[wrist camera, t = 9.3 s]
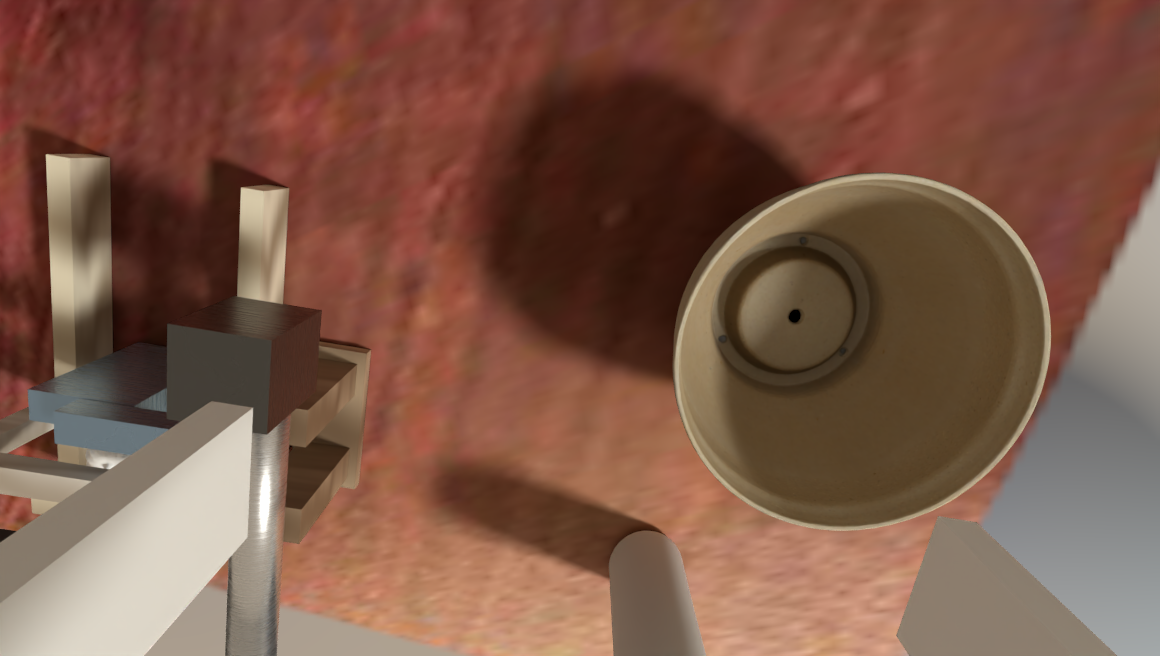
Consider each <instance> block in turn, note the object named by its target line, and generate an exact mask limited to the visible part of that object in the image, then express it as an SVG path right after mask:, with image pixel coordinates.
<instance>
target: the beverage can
mask: <svg viewBox="0 0 1160 656" xmlns="http://www.w3.org/2000/svg"><path fill="white" fill-rule="evenodd" d="M609 577H610V596H611V615H612V633H613V651H614V656H706V653H705V649H704V646H703V642H702V638H701V634H700V630H699V626H698V623H697V619H696V615H695V611H694V607H693V603H692V599H691V595H690V591H689V586H688V582H687V578H686V574H685V570H684V565H683V561H682V557H681V554H680V552H679V550H678V548H677V546H676V545H675V544H674V543H673V542H672V540H671V539H669V538H668V537H667V536H665V535H664V534H661V533H658V532H655V531H639V532H635V533H632V534H630V535H628V536H626V537H625V538H624V539H622V540H621V541H620V542H619V543H618V544H617V546H616V547H615V548H614V550H613V552H612V554H611V556H610V561H609Z"/></svg>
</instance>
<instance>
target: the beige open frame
mask: <svg viewBox="0 0 1160 656" xmlns="http://www.w3.org/2000/svg"><path fill="white" fill-rule="evenodd" d="M46 171H47V196H48V221H49V246H50V271H51V296H52V321H53V346H54V371H55V377H58V376H60V375H62V374H65V373H67V372H70V371H72V370H74V369H77V368H79V367H81V366H84V365H86V364H88V363H91V362H93V361H95V360H98V359H100V358H102V357H105V356H107V355H109V354H112V353H113V319H112V255H111V191H110V158H109V157H104V156H98V155H92V154H46ZM288 199H289V188H285V187H279V186H273V185H259V186H249V187H241V200H240V229H239V258H238V286H237V297H243V298H249V299H255V300H261V301H267V302H273V303H280V304H283V292H284V273H285V255H286V236H287V217H288ZM52 429H54V424H51V423H44V422H38V421H32V420H29V407H27V408H25V409H23V410H21V411H18V412H16V413H14V414H12V415H10V416H8V417H5V418H3V419H1V420H0V494H6V495H12V496H19V497H25V498H31V502H32V513H35V514H43V513H45V512H46V511H48V510H49V509H51V508H52V507H54V506H55V505H57V504H58V503H60V502H61V501H63V500H64V499H66V498H67V497H69V496H70V495H72V494H73V493H75V492H76V491H78V490H79V489H81V488H82V487H84V486H85V485H87V484H88V483H90V482H91V481H93V480H94V479H96V478H97V477H99V476H100V475H102V474H103V473H105V472H106V471H108V470H109V469H104V468H98V467H91V466H86V463H87V460H86V456H85V454H86V450H87V448H81V447H74V446H68V445H61V444H57V445H58V461H52V460H46V459H39V458H33V457H26V456H20V455H13V454H7V453H8V452H10V451H12V450H14V449H16V448H18V447H20V446H22V445H24V444H25V443H27V442H29V441H31V440H33V439H35V438H37V437H39V436H41V435H43V434H45V433H47V432H48V431H50V430H52Z"/></svg>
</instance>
